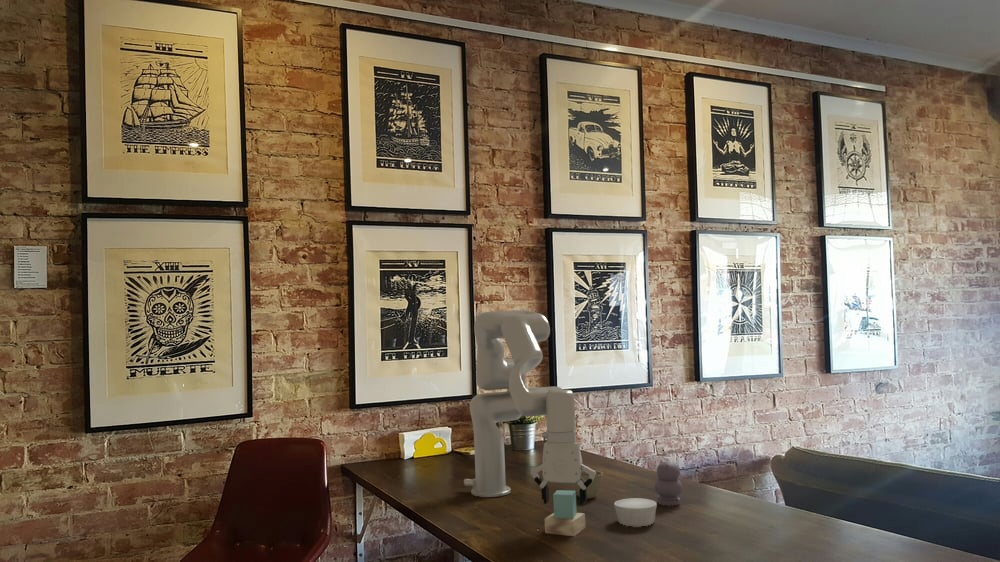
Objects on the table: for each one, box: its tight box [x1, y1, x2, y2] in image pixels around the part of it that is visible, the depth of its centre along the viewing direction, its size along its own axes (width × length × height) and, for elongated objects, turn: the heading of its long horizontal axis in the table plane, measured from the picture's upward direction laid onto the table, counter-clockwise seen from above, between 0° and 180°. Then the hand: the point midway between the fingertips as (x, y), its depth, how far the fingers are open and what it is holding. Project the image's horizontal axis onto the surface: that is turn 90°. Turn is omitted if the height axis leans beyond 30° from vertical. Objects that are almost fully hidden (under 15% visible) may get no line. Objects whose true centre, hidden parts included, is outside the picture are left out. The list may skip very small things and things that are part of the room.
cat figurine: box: [654, 459, 683, 507], centre depth 215 cm, size 8×8×12 cm
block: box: [552, 489, 578, 519], centre depth 193 cm, size 5×5×6 cm
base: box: [544, 512, 586, 537], centre depth 193 cm, size 8×8×4 cm
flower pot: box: [571, 469, 604, 500], centre depth 227 cm, size 10×10×7 cm
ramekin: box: [613, 497, 658, 528], centre depth 197 cm, size 11×11×5 cm
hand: (564, 503), depth 193 cm, fingers open, 9 cm apart
